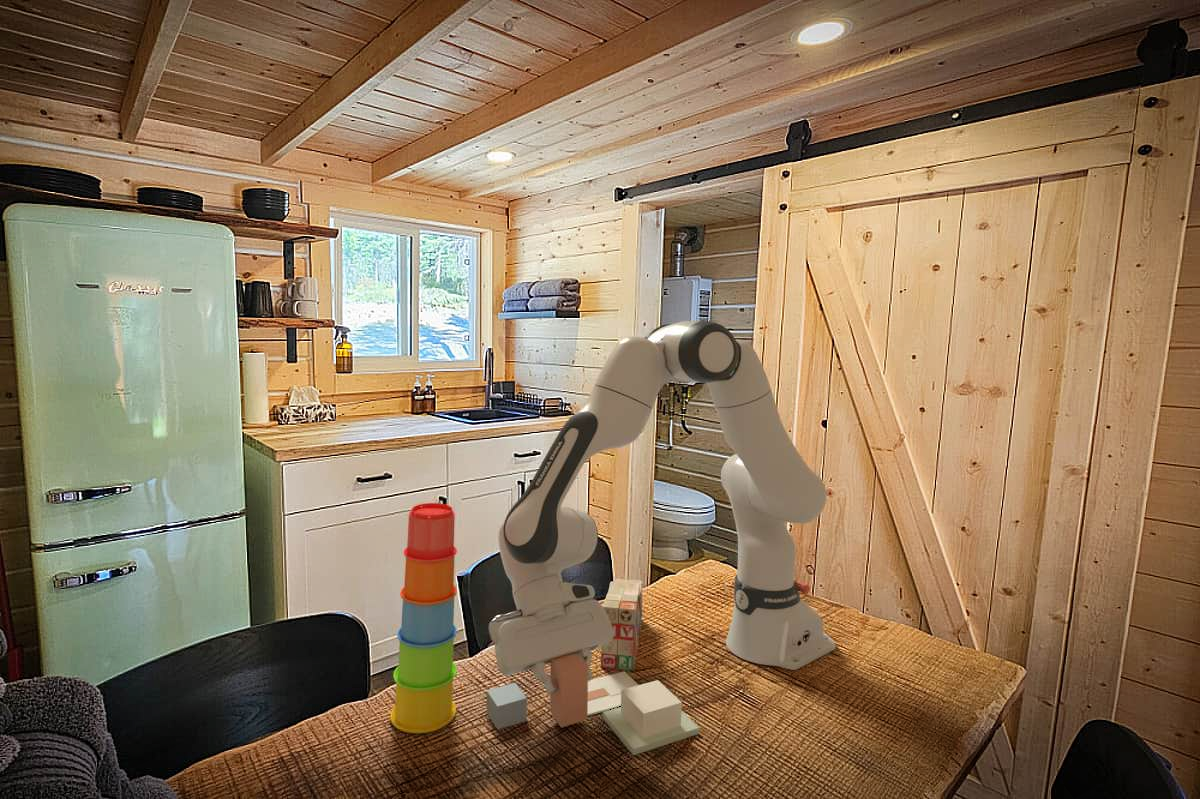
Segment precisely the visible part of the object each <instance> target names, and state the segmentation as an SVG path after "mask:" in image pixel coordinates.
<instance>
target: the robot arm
mask: <svg viewBox="0 0 1200 799" xmlns="http://www.w3.org/2000/svg"><path fill="white" fill-rule="evenodd" d="M669 381H672V382H673V381H674V382H679V383H694V382H695V383H696V382H698V383H704V384H706V386H707V388H708V390H709V393H710V396H711V399H712V400H711V401H712V403H713V406H714V410H715V412H716V415H717V418H718V421H719V424H720V429H721V432H722V434H723V436H724V440H725V441H726V443H727V445H728V446H729V448H730V449H732V450H733V451H734V454H733V455H731V456H729V457H728V458H727V459H726V461H725V462H724V464H723V465H722V468H721V472H720V482H721V485H722V487H723V489H724V490H725V492H726V494H727V496H728V499H729V501H730V505H731V509H732V514H733V518H734V522H735V527H736V534H737V573H736V574H735V576H734V584H733V585H734V586H733V587H734V588H733V589H734V590H733V595H734V596H733V597H734V606H733V611H732V616H731V621H730V625H729V630H728V633H727V636H726V640H725V644H726V645H725V646H726V648H727V649H728V650H729V651H730V652H731V653H732V654H734V655H735V656H737V657H739V658H741V659H742V660H745V661H748V662H751V663H755V664H759V665H766V666H774V667H775V666H776V667H779V668H783V669H787V670H792V671H796V670H798V669H800V668H802V667H804V666H807V665H808V664H810V663H812V662H813V661H816V660H817V659H819V658H821V657H823V656H825V655H827V654H829V653H830V652H832V651H834V650H836V649H837V647H836V642H835V641H834V640H833V639H832V638H831V636H829V635H828V634H827V633H826V632H824V630H825V629H824V621H823V619H822V616H821V615H820V614H819V613H818V612H817V611H816V610H815V609H814V608H813V607H812V606H810V605H809V604H808V603H807V602H805V601H804V600H803V599H802V598H801V597H800V592H801V593H802V594H804V595H808V594H809V592H810V591H811V586H810V584H808V583H804V582H803V581H799V582H797V581H796V579H795V574H796V573H795V570H796V569H795V568H796V553H797V550H796V548H797V547H796V544H795V541H794V539H793V537H792V535H791V534H790V532H789V530H788V528H787V526H786V523H792V524H800V525H803V524H804V525H805V524H808V523H811V522H814V521H815V520H816V519H817V518H819V517H820V515H821V514H822V512H823V511H824V509H825V507H826V503H827V489H826V486H825V484H824V482H823V480H822V479H821V478H820V477H819V476H818V475H817V474H816V473H815V472H814V471H813V470H812V469H811V468H810V467H809V465H808V464H807V463H806V462H805V461H804V459H803V458H802V456H801V454H800V453H799V451H798V449H797V448H796V446H795V444H794V443H793V441H792V440H791V438H790V436H789V434H788V433H787V431H786V429H785V427H784V424H783V422H782V419H781V417H780V413H779V410H778V408H777V404H776V401H775V397H774V395H773V391H772V388H771V385H770V383H769V379H768V376H767V373H766V371H765V369H764V366H763V364H762V362H761V360H760V357H759V356H758V354H757V352H756V351H755V349H754V347H753V346H752V345H751V344H750V343H749V342H748V341H746V340H743V339H736V338H735V337H734V335H733V333H732V332H731V331H730V330H729V329H727V327H725V326H724V325H723V324H720V323H717V322H715V321H712V320H700V321H697V320H681V321H679V322H676V323H667V324H666V323H665V324H662V325H660V326H658V327H656V328H654V329H653V330H652V331H650V332H649V333H648V334H646V336H645V337H641V336H627V337H624V338H622V339H621V340H620V341H619V342H618V343H617V344H616V345H615V347H614V348H613V350H612V352H611V353H610V355H609V356H608V358H607V359H606V361H605V363H604V365H603V366H602V368H601V369H600V372H599V374H598V376H597V379H596V381H595V382H594V386H593V388H592V390H591V392H590V394H589V396H588V398H587V399H586V401H585V402H584V404H583V405H582V407H581V408H580V409H579V410H578V411H577V412H576V413H574V414H573V415H572V416H570V418H568V420H566V422H565V423H564V425H563V426H562V428H561V429H560V431H559V432H558V433H557V436H556V438H555V439H554V441H553V442H552V444H551V446H550V447H549V450H548V452H547V453H546V455H545V456H544V459H543V460H542V462H541V464H540V465H539V467H538V469H537V471H536V473H535V475H534V476H533V478H532V480H531V481H530V483H529V485H528V487H527V488H526V490H524V492H523V494H522V495H521V496H520V497H519V499H518V500H517V501H516V502H515V503H514V504H513V505H512V507H511V508H510V509H509V511H508V513H507V515H506V517H505V519H504V522H503V523H502V524H501V526H500V528H499V530H498V547H499V548H498V549H499V554H500V559H501V561H502V566H503V568H504V572H505V574H506V577H507V578H508V579H509V580H510V584H511V586H512V598H513V600H514V604H515V607H516V610H514V611H511V612H508V613H505V614H498V615H496V616H494V618H493V619H492V620H490V622H489V624H488V633H489V636H490V639H491V641H492V643H494V652H495V658H496V664H497V667H498V671H499V673H500V674H501V675H503V676H505V677H508V676H513V675H516V674H518V673H522V672H525V671H529V670H531V669H532V672H533V673H532V674H533V676H535V678H536V679H537V680H538V681H539V682H541V684H542V685H544V688H545V692H546V694H547V695H548V696H550V694H552V693H555V692H557V691H558V690H559V686H558V684H557V679H556V678H553V679H551V678H550V676H549V675H548V673H547V672H546V671H545V670H546V668H547V667H546V665H549V664H551V659H552V658H556V657H560V656H564V655H568V654H572V653H577V654H578V655H579V656H580V657H581V658H582V660H583V661H584V662H585V663H586V664H587V665H588V681H591V680H592V679H594V678H593V676H594V675H593V673H592V671H591V664H592V655H593V654H592V651H595V650H598V649H602V647H605V646H607V645H608V644H609V643H610V642H611V641H612V639H613V636H614V631H613V628H612V625H611V623H610V620H609V618H608V616H607V614H606V612H605V610H604V608H603V605H602V604H601V602H599V600H596V599H594V597H595V594H596V591H595V589H594V587H593V586H592V585H590V584H582V583H572V582H567V581H563V578H562V574H561V573H562V572H563V571H564V570H568V569H570V568H574V567H575V566H579V565H580V564H582V563H584V562H586V561H588V560H589V559H590V558H591V557H592V556H593V554H594V553H595V551H596V550H597V546H598V541H599V532H598V527H597V524H596V522H595V520H594V519H593V517H592V516H591V515H589V514H588V513H587V512H584V511H581V510H578V509H574V508H571V507H566V506H562V504H563V502H564V500H565V498H566V497H567V495H568V493H569V492H570V490H571V488H572V486H573V484H574V482H575V480H576V478H577V477H578V475H579V473H580V471H581V469H582V468H583V466H584V465H585V463H587V461H588V460H589V459H590V458H592V457H593V456H595V455H597V454H599V453H602V452H604V451H608V450H613V449H619V448H623V447H626V446H627V445H630V444H632V443H633V442H635V441H637V439H638V438H639V436H640V434H641V433H642V432H643V430H644V429H645V427H646V426H647V422H648V420H649V418H650V416H651V413H652V410H654V409H653V408H654V406H655V403H656V401H657V398H658V395H659V394H660V391H661V389H662V388H663V387H664V385H665V384H667V383H668V382H669Z"/></svg>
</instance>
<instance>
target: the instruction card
mask: <svg viewBox="0 0 1200 799" xmlns="http://www.w3.org/2000/svg"><path fill="white" fill-rule="evenodd" d="M638 685H639V684H638V683H637V682H636V681H635V680H634V679H633V678H632V677H631V676H630V675H629V674H628V672H626V670H622V671H619V672H617V673H613V674H608V675H604V676H600V677H597V678H593V679H592V680H591V681H588V715H587V717H589V716H593V715H596V714H599V713H603V712H605V711H609V710H610V709H611V710H612V709H613V708H614V709H616V708H617V707H618V708H619V706H621V690H623V689H627V688H630V687H634V686H638Z"/></svg>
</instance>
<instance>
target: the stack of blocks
mask: <svg viewBox="0 0 1200 799" xmlns="http://www.w3.org/2000/svg"><path fill="white" fill-rule="evenodd" d="M602 606H603V608H604V610H605V612H606V614H607V616H608V618H609V620H610V623H611V625H612V628H613V631H614V636H613V639H612V641H611V642H610V643H609V644H608V645H607V646H605V647H602V648H601V654H600V668H602V669H609V668H613V669H612V670H620V669H624V670H623V671H634V667H635V663H636V658H637V652H638V648H639V647H638V646H639V637H640V633H641V628H642V622H643V580H639V579H625V578H624V579H622V578H614V581H610V583H609V587H608V591H607V594H606V596H605V599H604V602H603V605H602Z"/></svg>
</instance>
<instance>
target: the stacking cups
mask: <svg viewBox="0 0 1200 799" xmlns="http://www.w3.org/2000/svg"><path fill="white" fill-rule="evenodd" d="M455 518H456V517H455V511H454V510H453V507H452V506H450V505H448V504H446V503H445V504H444V503H440V502H439V503H437V502H434V503H433V502H429V503H428V502H427V503H421V504H416V505H414V506H412V508H411V510H410V511H409V513H408V524H407V526H408V527H407V544H406V545H407V546H406V548H404V550H403V555H404V557H405V568H404V569H405V570H404V571H405V572H404V584H403V585H404V586H403V587H402V588H401V590H400V598H401V599H402V608H401V626H400V628H399V629H398V630H397V634H396V635H397V636H396V637H397V640H398V642H399V644H398V645H399V648H398V649H399V650H398V666H397V667H396V668H395V670H394V672H393V680H394V682H395V683H396V684H395V699H394V700H395V704H394V706H393V708H392V709H391V711H390V715H389V716H390V717H389V718H390V722H391V723H392V726H394V727H395V728H396V729H397V730H399V731H401V732H405V733H407V734H408V733H409V734H427V733H428V734H429V733H432V732H434V731H437V730H440V729H442V728H444V727H446V726H447V725H448V724H449V723H450V722H452V720H453V719H454V717H455V716H456V712H457V706H456V703H455V702H454V700H453V680H454V679H455V677H456V675H457V671H458V670H457V666H456V664H455V663H454V639H455V637H456V636H457V633H458V632H457V627H456V625H455V624H454V620H455V619H454V618H455V616H454V615H455V597H456V595H457V593H458V588H457V586H455V585H454V584H455V582H454V581H455V557H456V554H457V552H458V550H457V547H456V546H455Z"/></svg>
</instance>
